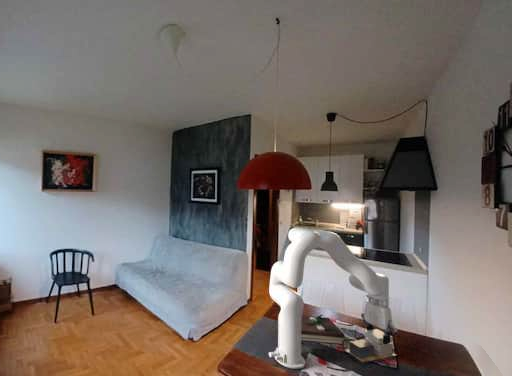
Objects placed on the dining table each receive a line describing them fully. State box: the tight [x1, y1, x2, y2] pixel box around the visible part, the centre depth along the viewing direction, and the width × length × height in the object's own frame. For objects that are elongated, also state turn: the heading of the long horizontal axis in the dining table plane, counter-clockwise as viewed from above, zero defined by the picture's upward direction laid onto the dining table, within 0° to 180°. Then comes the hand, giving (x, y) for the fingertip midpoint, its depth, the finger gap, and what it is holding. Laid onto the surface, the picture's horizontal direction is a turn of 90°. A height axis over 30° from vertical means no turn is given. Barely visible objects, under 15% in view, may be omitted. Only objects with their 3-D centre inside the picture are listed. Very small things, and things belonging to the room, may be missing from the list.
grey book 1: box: [349, 338, 374, 353], centre depth 120 cm, size 8×5×2 cm, turn 104°
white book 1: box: [363, 328, 393, 344], centre depth 122 cm, size 8×7×2 cm
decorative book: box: [301, 314, 345, 346], centre depth 137 cm, size 19×8×30 cm
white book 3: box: [374, 348, 394, 356], centre depth 122 cm, size 8×7×2 cm
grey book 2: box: [349, 346, 374, 358], centre depth 120 cm, size 8×5×2 cm, turn 104°
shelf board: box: [344, 348, 397, 363], centre depth 121 cm, size 20×9×2 cm, turn 104°
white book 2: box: [364, 336, 393, 351], centre depth 122 cm, size 8×7×2 cm
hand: (378, 338), depth 122 cm, fingers closed on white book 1, 6 cm apart
